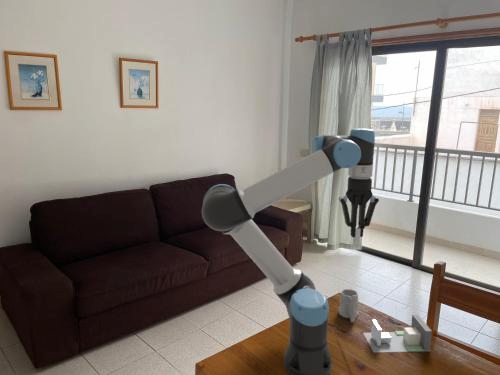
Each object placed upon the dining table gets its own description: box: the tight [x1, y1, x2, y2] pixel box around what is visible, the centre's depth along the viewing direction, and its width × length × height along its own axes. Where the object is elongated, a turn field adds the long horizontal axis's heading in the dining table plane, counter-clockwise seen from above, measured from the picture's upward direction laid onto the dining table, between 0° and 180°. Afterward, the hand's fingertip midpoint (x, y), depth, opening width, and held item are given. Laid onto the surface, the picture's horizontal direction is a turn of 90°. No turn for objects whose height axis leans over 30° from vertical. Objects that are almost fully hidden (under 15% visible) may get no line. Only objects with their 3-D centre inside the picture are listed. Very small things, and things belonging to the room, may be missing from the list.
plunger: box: [370, 319, 391, 346], centre depth 131 cm, size 5×6×6 cm
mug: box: [337, 288, 360, 323], centre depth 147 cm, size 8×12×12 cm, turn 179°
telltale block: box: [403, 326, 421, 345], centre depth 132 cm, size 4×4×4 cm
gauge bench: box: [362, 314, 433, 353], centre depth 131 cm, size 19×11×8 cm, turn 92°
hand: (356, 245), depth 129 cm, fingers closed
